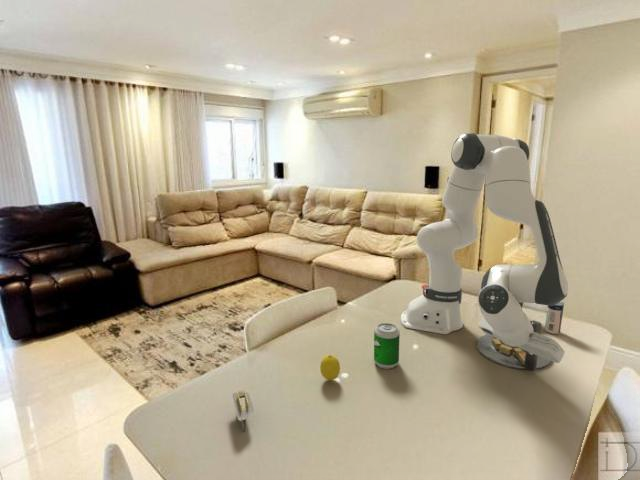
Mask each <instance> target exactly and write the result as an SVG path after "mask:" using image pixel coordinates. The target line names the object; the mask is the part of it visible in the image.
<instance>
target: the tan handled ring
mask: <svg viewBox="0 0 640 480" xmlns="http://www.w3.org/2000/svg"><path fill="white" fill-rule="evenodd" d="M529 321H530V322H531V324H532V326H533V332H536V333H539V334H541V331H542V323H541V322H540V321H536V320H529ZM492 345H493V346H494V348H495V349H499V351H500V352H502V353H505V354H507V355H511V354H512V351H513V354H514V355H515V356H516V357H518V358H519V360H520V361H521V362H522V363H523V365H524V368H525V369H527V370H526V371H531V372H535V371H536V370H537V369H536V365H537V357H538V355H535V354H532V355H531V354H528V353H526V352H523V351H521V350H520V348H511V347H509V346H506V345H503V344H502V343H501V340H499V339H496V338H494V337H493V338H492Z"/></svg>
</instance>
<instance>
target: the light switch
mask: <svg viewBox="0 0 640 480" xmlns="http://www.w3.org/2000/svg"><path fill="white" fill-rule="evenodd" d="M245 391H246V390H245V389H242V390H238V391H237V392H233V393H232V395H231V396H232V399H233V403H234V408H235V413H236V416H237V417H236V418H237V420H238V421H240V424H241V428H242V432H243V433H244V432H245V427H244V420H246V419H248V417H250V415H252V414H253V413H254V412H255V411H254V407H253V402H252V400H251V396H250V393H248V392H247V391H246V392H245ZM242 398H244V403H245V409H243V405H242V403H241V399H242Z"/></svg>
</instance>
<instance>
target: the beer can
mask: <svg viewBox="0 0 640 480" xmlns="http://www.w3.org/2000/svg"><path fill="white" fill-rule="evenodd" d="M564 306H565V301H564V299H563V300H562V301H560V302H559V303H557V304H556V305H554V306H549V305H547V308H546V315H545V323H544V331H546V332H547V333H549V334H551V335H558V334H560V333H561V329H562V328H561V327H562V321H563V314H564Z"/></svg>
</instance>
